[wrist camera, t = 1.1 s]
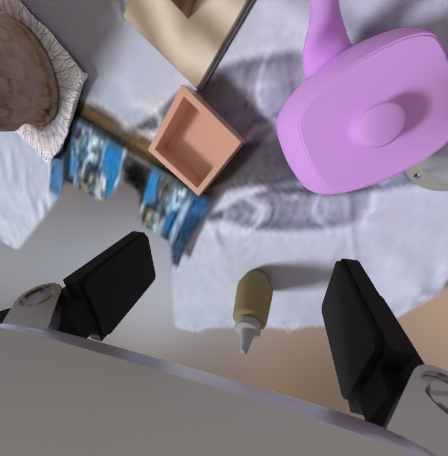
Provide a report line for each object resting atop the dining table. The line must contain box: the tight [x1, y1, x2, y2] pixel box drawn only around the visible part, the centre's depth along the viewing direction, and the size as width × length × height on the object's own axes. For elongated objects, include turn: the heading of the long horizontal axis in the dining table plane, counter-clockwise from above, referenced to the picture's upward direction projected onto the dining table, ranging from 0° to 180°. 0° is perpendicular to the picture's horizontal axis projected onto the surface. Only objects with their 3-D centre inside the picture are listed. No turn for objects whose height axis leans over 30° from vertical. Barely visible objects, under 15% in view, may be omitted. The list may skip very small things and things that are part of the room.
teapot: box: [276, 0, 448, 194], centre depth 22 cm, size 23×21×15 cm
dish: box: [148, 85, 246, 196], centre depth 35 cm, size 12×12×5 cm
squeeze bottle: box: [233, 270, 273, 354], centre depth 40 cm, size 8×8×18 cm
